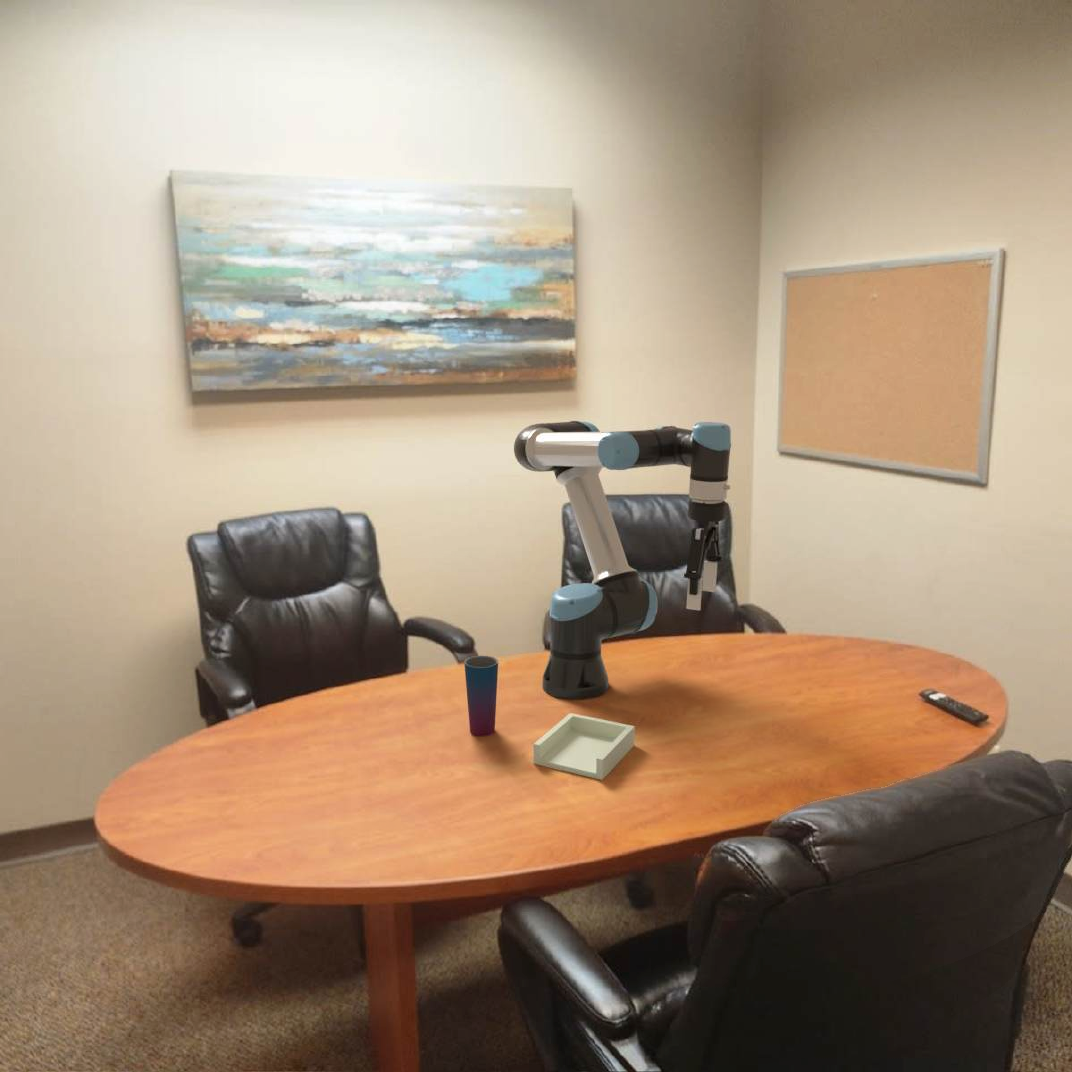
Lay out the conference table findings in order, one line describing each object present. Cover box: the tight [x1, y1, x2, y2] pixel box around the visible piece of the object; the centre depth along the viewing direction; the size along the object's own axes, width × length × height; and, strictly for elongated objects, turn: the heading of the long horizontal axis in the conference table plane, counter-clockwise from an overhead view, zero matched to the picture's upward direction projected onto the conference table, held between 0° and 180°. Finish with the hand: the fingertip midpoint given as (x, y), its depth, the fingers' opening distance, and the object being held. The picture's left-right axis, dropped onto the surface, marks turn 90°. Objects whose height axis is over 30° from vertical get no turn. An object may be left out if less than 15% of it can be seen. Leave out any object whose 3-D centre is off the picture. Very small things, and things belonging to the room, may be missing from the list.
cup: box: [463, 655, 499, 737], centre depth 179 cm, size 7×7×15 cm
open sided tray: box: [533, 712, 636, 781], centre depth 170 cm, size 14×16×4 cm
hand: (701, 599), depth 184 cm, fingers open, 13 cm apart
